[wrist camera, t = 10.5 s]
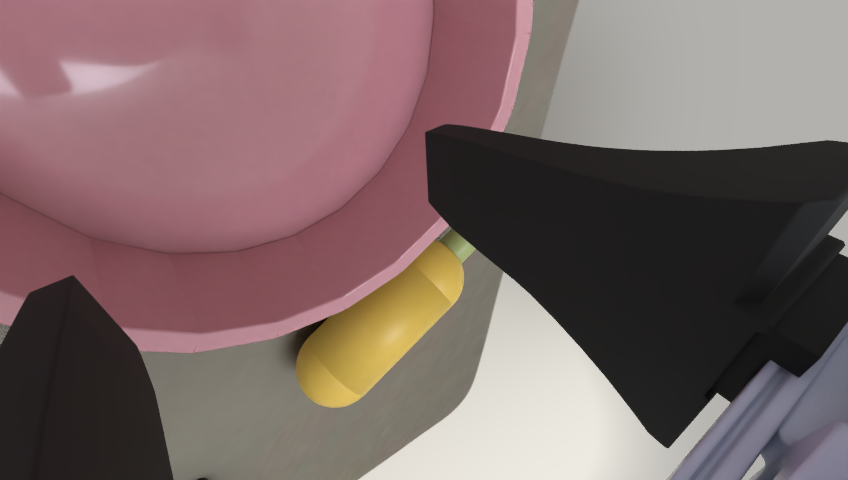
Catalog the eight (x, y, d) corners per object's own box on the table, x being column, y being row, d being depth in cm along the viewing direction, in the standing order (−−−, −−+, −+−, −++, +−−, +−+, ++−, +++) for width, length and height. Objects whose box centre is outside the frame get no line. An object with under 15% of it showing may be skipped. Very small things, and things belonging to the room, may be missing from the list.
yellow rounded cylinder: (316, 376, 26) (348, 433, 23) (267, 354, 23) (297, 416, 20) (454, 239, 27) (501, 276, 24) (427, 198, 24) (477, 236, 21)
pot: (230, 320, 20) (270, 402, 17) (-619, -73, 6) (-1237, -26, 3) (484, 79, 21) (563, 113, 18) (247, -639, 8) (397, -974, 5)
